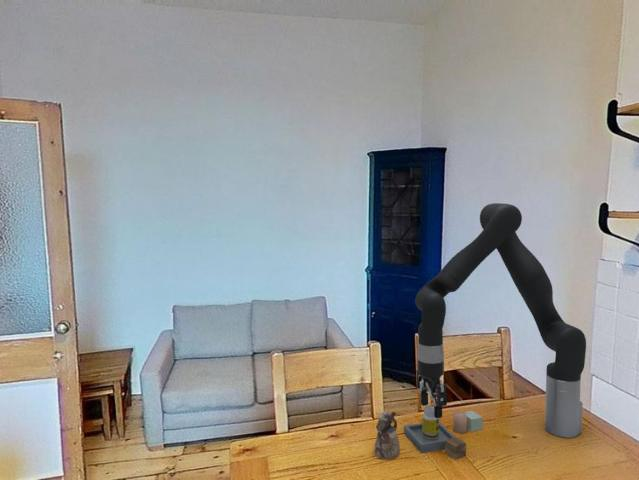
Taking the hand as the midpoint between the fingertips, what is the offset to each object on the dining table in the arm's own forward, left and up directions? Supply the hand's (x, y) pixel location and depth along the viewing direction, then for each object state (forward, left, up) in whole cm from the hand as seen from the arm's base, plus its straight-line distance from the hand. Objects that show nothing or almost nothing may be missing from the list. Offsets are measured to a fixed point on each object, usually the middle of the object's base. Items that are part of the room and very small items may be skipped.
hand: (431, 411), depth 138 cm
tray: (0, 0, -9) cm, 9 cm away
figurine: (+15, +3, -9) cm, 18 cm away
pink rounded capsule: (-11, -3, -9) cm, 15 cm away
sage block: (-16, -4, -9) cm, 19 cm away
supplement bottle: (0, 0, -8) cm, 8 cm away
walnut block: (-3, +9, -9) cm, 13 cm away
